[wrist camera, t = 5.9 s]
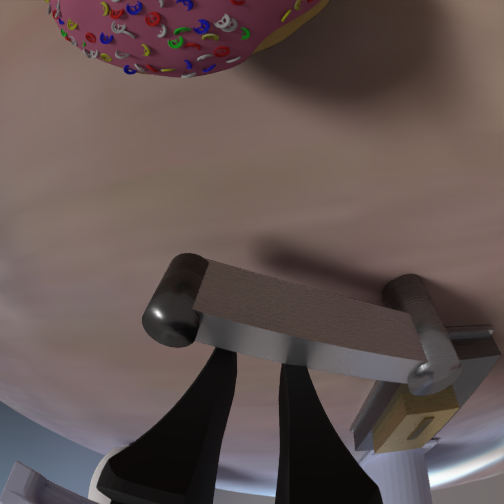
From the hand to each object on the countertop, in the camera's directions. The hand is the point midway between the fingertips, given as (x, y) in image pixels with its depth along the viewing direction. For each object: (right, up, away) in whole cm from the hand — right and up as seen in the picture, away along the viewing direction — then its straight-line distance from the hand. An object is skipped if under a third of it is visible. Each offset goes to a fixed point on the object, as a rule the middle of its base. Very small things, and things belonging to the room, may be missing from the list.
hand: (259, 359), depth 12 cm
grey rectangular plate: (+12, -6, +7) cm, 15 cm away
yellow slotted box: (+11, -7, +5) cm, 14 cm away
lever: (+3, +4, +2) cm, 5 cm away
